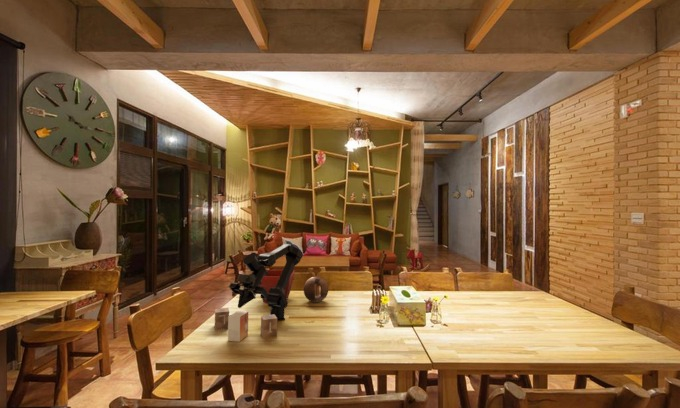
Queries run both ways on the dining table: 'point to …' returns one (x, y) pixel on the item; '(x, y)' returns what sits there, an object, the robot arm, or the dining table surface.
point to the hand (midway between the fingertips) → (238, 307)
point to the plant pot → (275, 282)
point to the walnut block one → (269, 326)
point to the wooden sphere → (315, 289)
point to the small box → (238, 326)
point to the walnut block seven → (221, 318)
